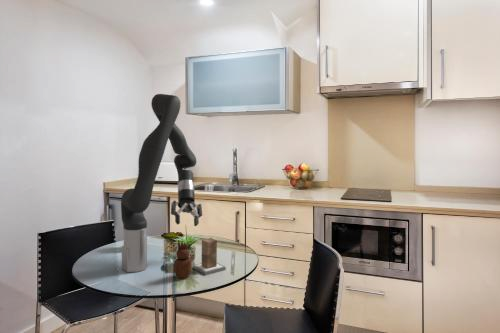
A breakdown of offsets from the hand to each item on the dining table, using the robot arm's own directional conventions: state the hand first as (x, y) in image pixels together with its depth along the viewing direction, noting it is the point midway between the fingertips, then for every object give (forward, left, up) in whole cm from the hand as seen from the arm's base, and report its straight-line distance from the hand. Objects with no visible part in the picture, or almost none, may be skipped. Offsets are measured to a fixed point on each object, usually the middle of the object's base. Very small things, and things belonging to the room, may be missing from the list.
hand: (187, 224), depth 153 cm
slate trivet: (+2, -14, -16) cm, 22 cm away
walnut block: (+2, -14, -15) cm, 21 cm away
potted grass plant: (-11, -15, -17) cm, 25 cm away
